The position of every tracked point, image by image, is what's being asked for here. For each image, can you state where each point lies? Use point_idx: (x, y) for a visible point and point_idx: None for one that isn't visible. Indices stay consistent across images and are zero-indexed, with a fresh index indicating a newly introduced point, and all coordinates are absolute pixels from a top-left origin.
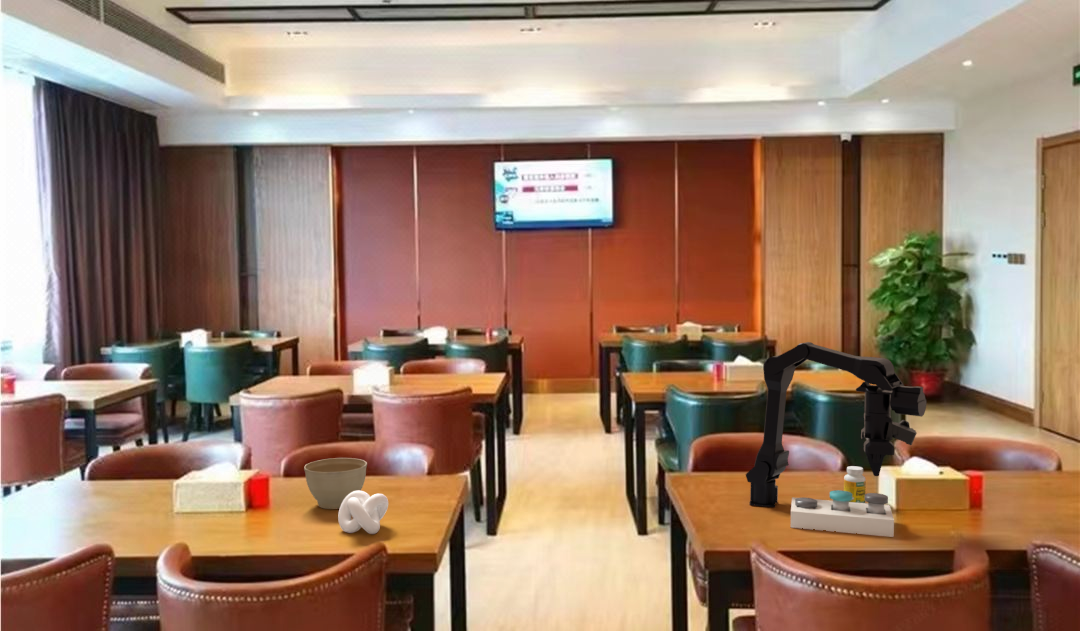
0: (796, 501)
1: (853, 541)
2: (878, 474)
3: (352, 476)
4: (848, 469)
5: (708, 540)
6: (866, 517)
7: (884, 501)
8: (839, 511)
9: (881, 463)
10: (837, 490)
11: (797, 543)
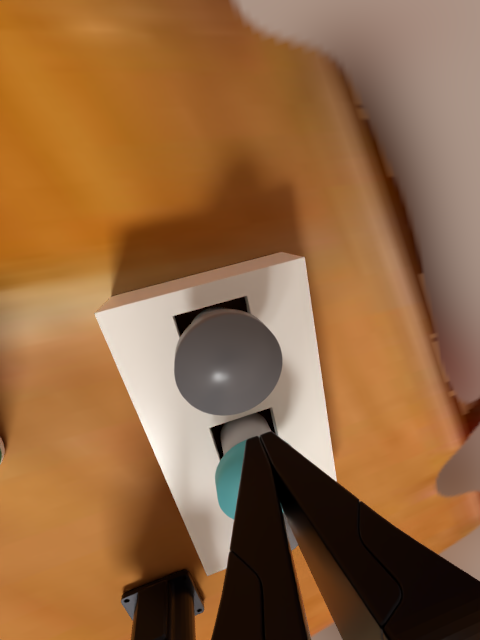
0: (293, 547)
1: (363, 340)
2: (279, 439)
3: None
4: None
5: (445, 542)
6: (313, 348)
7: (259, 320)
8: (286, 433)
9: (367, 509)
10: (226, 511)
11: (417, 433)
